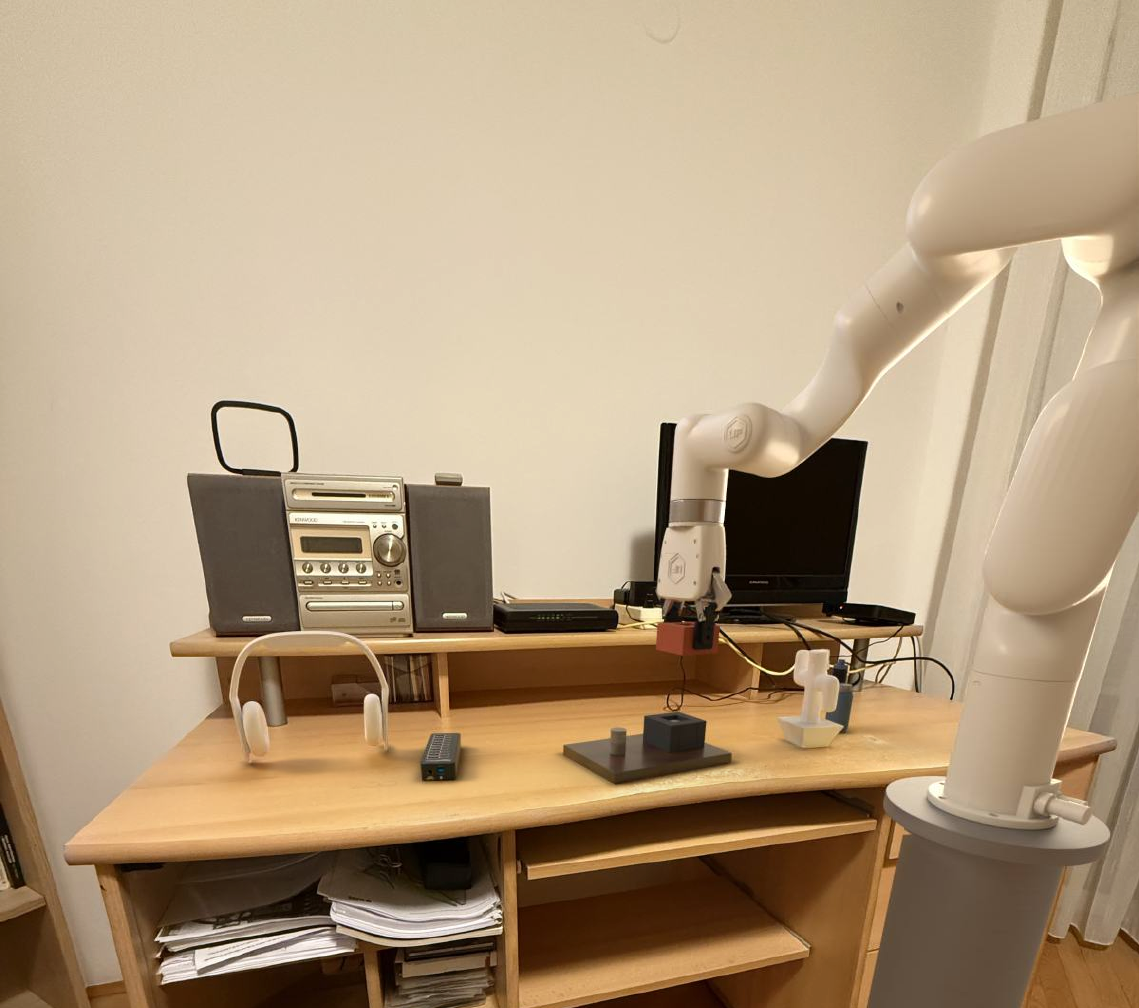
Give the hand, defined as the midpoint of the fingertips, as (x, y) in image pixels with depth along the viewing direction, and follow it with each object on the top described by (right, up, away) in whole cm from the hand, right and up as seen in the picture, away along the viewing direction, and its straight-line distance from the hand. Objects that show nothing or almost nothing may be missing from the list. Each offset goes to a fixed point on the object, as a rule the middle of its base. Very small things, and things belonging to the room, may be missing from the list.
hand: (686, 644), depth 89 cm
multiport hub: (-35, -18, -5) cm, 40 cm away
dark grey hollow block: (-2, -15, 0) cm, 15 cm away
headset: (-53, -17, -5) cm, 56 cm away
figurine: (+21, -15, +7) cm, 26 cm away
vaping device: (+29, -12, +16) cm, 35 cm away
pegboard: (-6, -17, -2) cm, 18 cm away
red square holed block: (0, -1, 0) cm, 1 cm away
